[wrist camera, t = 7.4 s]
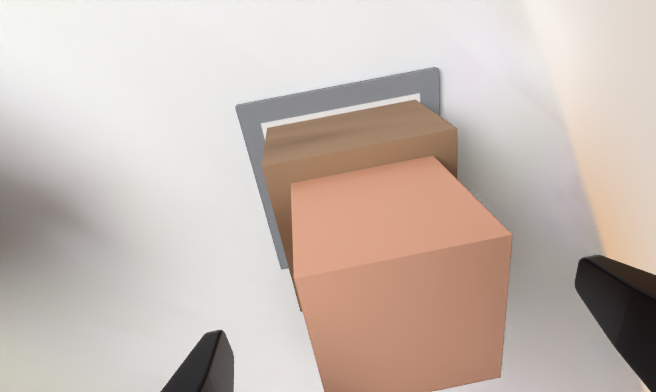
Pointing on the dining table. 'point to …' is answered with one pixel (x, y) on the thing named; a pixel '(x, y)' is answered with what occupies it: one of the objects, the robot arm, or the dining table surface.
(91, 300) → the dining table surface
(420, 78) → the gray square frame
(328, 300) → the cube
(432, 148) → the base block
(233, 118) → the dining table surface
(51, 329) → the dining table surface
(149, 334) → the dining table surface
